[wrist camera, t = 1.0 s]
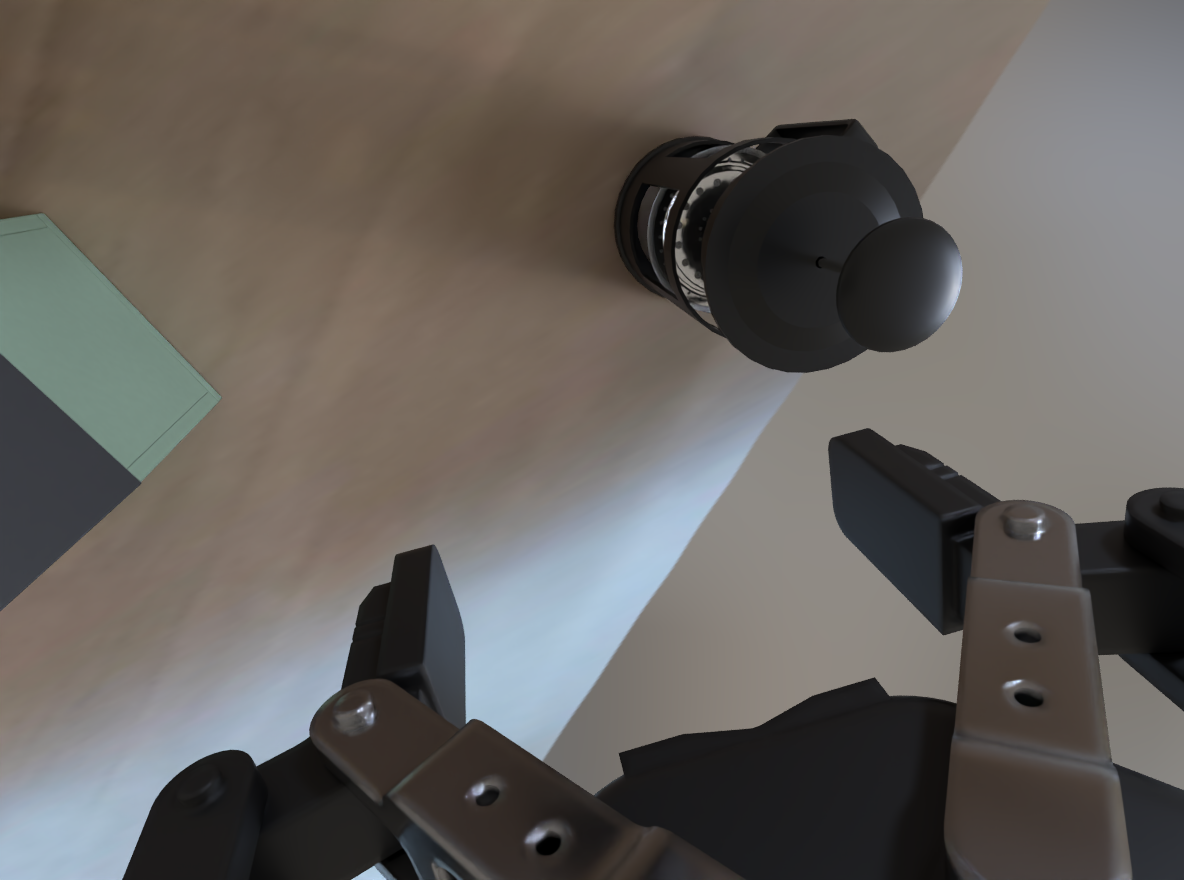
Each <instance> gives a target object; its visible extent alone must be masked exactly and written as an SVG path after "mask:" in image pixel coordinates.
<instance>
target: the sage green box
mask: <svg viewBox="0 0 1184 880" xmlns="http://www.w3.org/2000/svg"><path fill="white" fill-rule="evenodd" d="M0 354H2V355H3V356H4V357H5V358H6V359H7V360H8V361H9V362H10V363H11V364H12V365H14V366H15V367H16V368H17V369H18V370H19V371H20V372H21V373H22V374H23V375H24V376H26V377H27V378H28V379H29V380H30V381H31V382H32V383H33V384H34V385H35V386H36V387H38V388H39V389H40V390H41V391H42V392H43V393H44V394H45V395H46V396H47V397H48V398H50V399H51V400H52V401H53V402H54V403H55V404H56V405H57V406H58V407H59V408H60V409H62V410H63V411H64V412H65V413H66V414H67V415H68V416H69V417H70V418H71V419H72V420H74V421H75V422H76V423H77V424H78V425H79V426H80V427H81V428H82V429H83V430H84V431H86V432H87V433H88V434H89V435H90V436H91V437H92V438H93V439H94V440H95V441H96V442H98V443H99V444H100V445H101V446H102V447H103V448H104V449H105V450H106V451H107V452H108V453H110V454H111V455H112V456H113V457H114V458H115V459H116V460H117V461H118V462H119V463H120V464H122V465H123V466H124V467H125V468H126V469H127V470H128V471H129V472H130V473H131V474H132V475H134V476H135V477H136V478H137V479H138V480H139V481H140V482H142V480H143V479H144V478H145V477H146V476H147V475H148V474H149V473H150V472H151V471H152V470H153V469H154V468H155V467H156V466H157V465H158V464H159V463H160V462H161V461H162V460H163V459H164V458H165V457H166V456H167V455H168V454H169V453H170V452H171V451H172V450H173V448H174V447H175V446H176V445H177V444H178V443H179V442H180V441H181V440H182V439H183V438H184V437H185V436H186V435H187V434H188V433H189V432H190V431H191V430H192V429H193V428H194V427H195V426H196V425H197V424H198V423H199V422H200V421H201V420H202V419H203V418H204V416H205V415H206V414H207V413H208V412H209V411H210V410H211V409H212V408H213V407H214V406H215V405H216V404H217V403H218V402H219V401H220V400H221V398H222V397H221V396H220V395H219V394H218V393H217V392H216V391H215V390H214V389H213V388H212V387H211V386H210V385H209V384H208V383H207V382H206V381H205V380H204V378H203V377H202V376H201V375H200V374H199V373H198V372H197V371H196V370H195V369H194V368H193V367H192V366H191V365H190V364H189V363H188V362H187V361H186V360H185V359H184V358H183V357H182V356H181V355H180V354H179V353H178V352H177V351H176V350H175V349H174V347H173V346H172V345H171V344H170V343H169V342H168V341H167V340H166V339H165V338H164V337H163V336H162V335H161V334H160V333H159V332H158V331H157V330H156V329H155V328H154V327H153V326H152V325H151V324H150V323H149V322H148V321H147V320H146V319H145V318H144V316H143V315H142V314H141V313H140V312H139V311H138V310H137V309H136V308H135V307H134V306H133V305H132V304H131V303H130V302H129V301H128V300H127V299H126V298H125V297H124V296H123V295H122V294H121V293H120V292H119V291H118V290H117V289H116V288H115V286H114V285H113V284H112V283H111V282H110V281H109V280H108V279H107V278H106V277H105V276H104V275H103V274H102V273H101V272H100V271H99V270H98V269H97V268H96V267H95V266H94V265H93V264H92V263H91V262H90V261H89V260H88V259H87V258H86V257H85V255H84V254H83V253H82V252H81V251H80V250H79V249H78V248H77V247H76V246H75V245H74V244H73V243H72V242H71V241H70V240H69V239H68V238H67V237H66V236H65V235H64V234H63V233H62V232H61V231H60V230H59V229H58V228H57V227H56V226H55V224H54V223H53V222H52V221H51V220H50V219H49V218H48V217H47V216H46V215H45V214H43V213H40V214H33V215H26V216H20V217H13V218H7V219H0Z"/></svg>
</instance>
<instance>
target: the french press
mask: <svg viewBox="0 0 1184 880" xmlns="http://www.w3.org/2000/svg"><path fill="white" fill-rule="evenodd" d="M756 144H759V146H758V147H757V148H756V149H753V148H750V146H753V145H756ZM650 185H651V186H656V187H661V188H660V190H659V192H658V195H657V197H656V199H655V201H654V203H653V206H652V210H651V213H650V217H649V221H648V232H647V241H648V251H649V256H650V259H651V262H650V261H649V260H648V259H647V257H646V255H645V254H644V252H643V250H642V248H641V244H640V241H639V238H638V229H637V222H638V212H639V209H640V205H641V201H642V199H643V197H644V195H645V193H646V191H647V189H648V188H649V187H650ZM614 229H615V238H616V243H617V247H618V250H619V253H620V256H621V258H622V260H623V262H624V264H625V265H626V267H627V269H628V271H629V272H630V273H631V274H632V275H633V276H634V278H635V279H636V280H637V281H638V282H639V283H640V284H642V285H643V286H644V287H646V288H647V289H648V290H649V291H651V292H653V293H655V294H657V295H659V296H661V297H664V298H667V299H668V300H670V301H671V302H672V303H674V304H675V305H676V306H678V307H679V308H681V309H682V310H683V311H685V312H686V313H687V314H689V315H690V316H692V317H693V318H694V319H696V320H697V321H698V322H700V323H701V324H703V325H704V326H705V327H707V328H708V329H709V330H711V331H712V332H714V333H716V334H718V335H720V336H723V337H725V338H727V339H728V341H729V342H730V343H731V344H732V345H733V346H734V347H735V348H736V349H738V350H739V351H740V352H741V353H743V354H744V355H745V356H747V357H748V358H749V359H751V360H753V361H755V362H757V363H759V364H761V365H763V366H765V367H768V368H771V369H776V370H780V371H784V372H803V373H807V372H814V371H819V370H824V369H829V368H832V367H834V366H836V365H839V364H842V363H845V362H847V361H849V360H851V359H852V358H854V357H856V356H857V355H859V354H861V353H862V352H864V351H866V350H867V349H869V350H874V351H878V352H895V351H901V350H905V349H908V348H910V347H913V346H916V345H917V344H919V343H921V342H922V341H924V340H926V339H927V338H928V337H930V336H931V335H932V334H933V333H934V332H936V331H937V330H938V329H939V327H940V326H941V325H942V324H943V323H944V322H945V320H946V319H947V318H948V316H949V314H950V313H951V311H952V309H953V308H954V305H955V303H956V301H957V298H958V296H959V292H960V288H961V284H962V262H961V256H960V253H959V250H958V247H957V245H956V243H955V242H954V240H953V238H952V237H951V235H950V234H948V233H947V231H945V229H944V228H943V227H941V226H940V225H938V224H936V223H935V222H933V221H931V220H927V219H924V218H923V213H922V208H921V205H920V202H919V199H918V196H917V193H916V191H915V188H914V186H913V185H912V183H911V182H910V180H909V178H908V177H907V175H906V173H905V172H904V170H903V169H902V168H901V167H900V166H899V165H898V164H897V163H896V162H895V161H894V160H893V159H892V158H891V157H890V156H889V155H888V154H886V153H885V152H883V151H882V150H880V149H878V146H877V145H876V143H875V142H874V141H873V139H872V138H871V137H870V136H869V134H868V133H867V132H866V130H865V129H864V128H863V127H862V125H861V124H860V123H859V122H858V121H857V120H856V119H847V120H835V121H822V122H810V123H797V124H784V125H778V126H776V127H775V128H774V129H773V130H772V131H771V132H770V133H769V134H768V136H767V137H766V138H757V139H750V140H744V141H741V142H738V143H736V144H734V143H731V142H727V141H720V140H717V139H713V138H710V137H698V136H691V137H685V138H678V139H675V140H672V141H670V142H667V143H664V144H662V145H660V146H659V147H657V148H655V149H654V150H652V151H651V152H649V153H648V154H647V155H646V156H645V157H644V158H643V159H642V160H640V161H639V162H638V163H637V164H636V166H635V167H634V168H633V170H632V171H631V173H630V174H629V175H628V177H627V178H626V180H625V183H624V185H623V187H622V189H621V191H620V193H619V197H618V201H617V205H616V209H615V220H614ZM651 263H652V264H651ZM694 309H695V310H699V311H703V312H708V313H711V314H712V316H713V318H714V320H715V322H716V324H717V326H718V328H717V327H715V326H713V325H711V324H709V323H707V322H706V321H705V320H703V319H702V318H701V317H700V316H699V315H698V313H697V312H696V311H695V310H694Z"/></svg>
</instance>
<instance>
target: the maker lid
mask: <svg viewBox="0 0 1184 880" xmlns="http://www.w3.org/2000/svg"><path fill="white" fill-rule="evenodd" d="M140 484H141V482H140V481H139V480H138V479H137V478H136V477H135V476H134V475H132V474H131V473H130V472H129V471H128V470H127V469H126V468H125V467H124V466H123V465H122V464H120V463H119V462H118V461H117V460H116V459H115V458H114V457H113V456H112V455H111V454H110V453H108V452H107V451H106V450H105V449H104V448H103V447H102V446H101V445H100V444H99V443H98V442H96V441H95V440H94V439H93V438H92V437H91V436H90V435H89V434H88V433H87V432H86V431H84V430H83V429H82V428H81V427H80V426H79V425H78V424H77V423H76V422H75V421H74V420H72V419H71V418H70V417H69V416H68V415H67V414H66V413H65V412H64V411H63V410H62V409H60V408H59V407H58V406H57V405H56V404H55V403H54V402H53V401H52V400H51V399H50V398H48V397H47V396H46V395H45V394H44V393H43V392H42V391H41V390H40V389H39V388H38V387H36V386H35V385H34V384H33V383H32V382H31V381H30V380H29V379H28V378H27V377H26V376H24V375H23V374H22V373H21V372H20V371H19V370H18V369H17V368H16V367H15V366H14V365H12V364H11V363H10V362H9V361H8V360H7V359H6V358H5V357H4V356H3V355H2V354H0V611H1V610H2V609H3V608H5V607H6V606H7V605H8V604H9V603H10V602H11V601H12V600H13V599H14V598H16V597H17V596H18V595H19V594H20V593H21V592H22V591H23V590H24V589H26V588H27V587H28V586H29V585H30V584H31V583H32V582H33V581H34V580H35V579H37V578H38V577H39V576H40V575H41V574H42V573H43V572H44V571H45V570H47V569H48V568H49V567H50V566H51V565H52V564H53V563H54V562H55V561H56V560H58V559H59V558H60V557H61V556H62V555H63V554H64V553H65V552H66V551H68V550H69V549H70V548H71V547H72V546H73V545H74V544H75V543H76V542H77V541H79V540H80V539H81V538H82V537H83V536H84V535H85V534H86V533H87V532H89V531H90V530H91V529H92V528H93V527H94V526H95V525H96V524H97V523H98V522H100V521H101V520H102V519H103V518H104V517H105V516H106V515H107V514H108V513H110V512H111V511H112V510H113V509H114V508H115V507H116V506H117V505H118V504H119V503H121V502H122V501H123V500H124V499H125V498H126V497H127V496H128V495H129V494H131V493H132V492H133V491H134V490H135V489H136V488H137V487H138V486H139V485H140Z"/></svg>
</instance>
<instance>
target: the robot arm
mask: <svg viewBox="0 0 1184 880" xmlns="http://www.w3.org/2000/svg"><path fill="white" fill-rule="evenodd" d="M828 451H829V464H830V476H831V488H832V499H833V508H834V513H835V517H836V520H837V522H838V525H839V527H840V528H841V530H842V532H843V533H844V535H845V536H846V537H847V538H848V539H849V540H850V541H851V542H852V543H853V544H854V545H855V546H856V547H857V548H858V549H859V550H860V551H861V552H862V553H863V554H864V555H865V556H866V557H867V558H868V559H869V560H870V562H872V564H874V566H875V567H876V568H878V570H879V571H880V572H881V573H882V574H883V575H884V576H885V577H886V578H887V579H888V580H889V581H890V582H891V583H892V584H893V585H894V586H895V587H896V588H897V589H898V590H899V591H900V592H901V593H902V594H903V595H904V596H905V597H906V598H907V599H908V600H909V601H910V602H911V603H912V604H913V605H914V606H915V607H916V608H917V609H918V610H919V611H920V612H921V613H922V614H923V615H924V616H925V617H926V618H927V619H928V620H929V621H930V622H931V624H932V625H933V626H934V627H935V628H936V629H938V631H939V632H940V633H941V634H942V635H947V634H950V633H953V632H957V631H960V630H963V639H962V649H961V662H960V674H959V684H958V695H957V703H953V702H949V701H945V700H940V699H935V698H928V697H919V696H889V695H888V694H887V693H886V691H885V690H884V689H883V687H882V686H881V685H880V684H879V682H878V681H877V680H876V678H871V679H868V680H865V681H861V682H858V683H855V684H851V685H847V686H844V687H841V688H838V689H834V690H831V691H828V692H824V693H821V694H817V695H814V696H812V697H810V698H808V699H806V700H805V701H803V702H801V703H799V704H797V705H796V706H794V707H792V708H790V709H789V710H787V711H785V712H783V713H782V714H780V715H778V716H776V717H774V718H773V719H771V720H769V721H767V722H766V723H764V724H762V725H760V726H758V727H755V728H751V729H742V730H729V731H718V732H706V733H705V732H704V733H693V734H682V735H679V736H675V737H672V738H668V739H665V740H662V741H659V742H655V743H652V744H648V745H645V746H641V747H638V748H635V749H631V750H628V751H625V752H621V753H619V756H620V760H621V763H622V768H623V772H624V775H622V776H621V777H619V778H617V779H615V780H614V781H612V782H611V783H609V784H608V785H607V786H605V787H604V788H602V789H601V790H600V791H598V792H597V793H596V794H595V795H594V796H593V795H592V794H590V793H589V792H587V791H586V790H584V789H583V788H581V787H580V786H578V785H577V784H575V783H574V782H572V781H571V780H569V779H568V778H566V777H565V776H563V775H562V774H560V773H559V772H557V771H556V770H554V769H553V768H551V767H550V766H548V765H547V764H545V763H544V762H542V761H541V760H539V759H538V758H536V757H535V756H533V755H532V754H530V753H529V752H527V751H526V750H524V749H523V748H521V747H520V746H518V745H517V744H515V743H514V742H512V741H511V740H509V739H508V738H506V737H505V736H503V735H502V734H500V733H499V732H497V731H496V730H494V729H493V728H491V727H490V726H488V725H487V724H485V723H484V722H482V721H480V720H477V719H472V720H470V721H469V722H468V723H467V724H466V711H465V636H464V629H463V624H462V620H461V616H460V612H459V609H458V606H457V603H456V600H455V597H454V595H453V592H452V589H451V586H450V583H449V580H448V577H447V575H446V572H445V569H444V566H443V563H442V560H441V557H440V555H439V552H438V550H437V548H436V546H435V545H429V546H425V547H422V548H418V549H414V550H411V551H407V552H403V553H400V554H396V556H395V560H394V566H393V572H392V578H391V582H389V583H386V584H382V585H378V586H375V587H373V589H372V590H371V591H370V593H369V594H368V595H367V597H366V598H365V599H364V601H363V602H362V603H361V605H360V606H359V611H358V615H357V620H356V627H355V629H354V634H353V638H352V640H353V643H351V647H350V652H349V656H348V661H347V665H346V670H345V674H344V679H343V683H342V688H341V690H340V691H339V692H337V693H336V694H334V695H333V696H332V697H330V698H329V699H328V700H327V701H326V702H325V703H324V704H323V705H322V706H321V707H320V708H319V709H318V711H317V712H316V714H315V715H314V717H313V719H312V721H311V724H310V729H309V731H310V737H309V738H307V739H306V740H304V741H303V742H301V743H300V744H298V745H296V746H295V747H293V748H291V749H289V750H287V751H285V752H283V753H281V754H279V755H278V756H276V757H274V758H272V759H270V760H268V761H266V762H264V763H262V764H260V765H258V766H257V767H256V765H255V763H254V761H253V760H252V758H251V757H250V756H249V755H248V754H247V753H245V752H243V751H239V750H227V751H221V752H217V753H214V754H211V755H209V756H206V757H204V758H202V759H200V760H198V761H196V762H195V763H193V764H191V765H190V766H188V767H187V768H185V769H184V770H183V771H181V772H180V773H179V774H178V775H176V776H175V777H174V778H173V779H172V780H171V781H170V782H169V783H168V784H167V785H166V786H165V787H164V788H163V790H162V791H161V792H160V793H159V795H158V796H157V798H156V799H155V801H154V803H153V805H152V807H151V810H150V812H149V815H148V817H147V820H146V822H145V825H144V827H143V830H142V832H141V835H140V837H139V840H138V842H137V845H136V847H135V850H134V852H133V855H132V857H131V860H130V862H129V865H128V867H127V869H126V872H125V874H124V877H123V879H122V880H351V879H353V878H355V877H356V876H358V875H359V874H361V873H363V872H364V871H366V870H368V869H369V868H371V867H373V866H375V867H376V869H377V870H378V871H379V872H380V873H381V874H382V875H383V876H384V877H385V878H386V879H387V880H1184V790H1182V789H1179V788H1176V787H1174V786H1171V785H1169V784H1166V783H1164V782H1161V781H1159V780H1156V779H1153V778H1151V777H1148V776H1146V775H1143V774H1140V773H1138V772H1135V771H1132V770H1130V769H1127V768H1125V767H1122V766H1120V765H1117V764H1115V763H1113V762H1112V758H1111V751H1110V744H1109V735H1108V727H1107V720H1106V712H1105V704H1104V697H1103V688H1102V681H1101V673H1100V665H1099V657H1098V655H1114V654H1118V655H1119V656H1120V657H1121V658H1122V659H1123V660H1124V661H1126V662H1127V663H1128V664H1129V665H1130V666H1131V667H1132V668H1134V669H1135V670H1136V671H1137V672H1138V673H1140V674H1141V675H1142V676H1143V677H1144V678H1145V679H1147V680H1148V681H1149V682H1150V683H1151V684H1152V685H1153V686H1155V687H1156V688H1157V689H1158V690H1159V691H1160V692H1162V693H1163V694H1164V695H1165V696H1166V697H1168V698H1169V699H1170V700H1171V701H1172V702H1173V703H1175V704H1176V705H1177V706H1178V707H1179V708H1180V709H1182V710H1183V711H1184V489H1183V488H1154V489H1149V490H1144V491H1141V492H1138V493H1136V494H1134V495H1133V496H1131V497H1130V498H1129V500H1128V501H1127V505H1126V514H1125V520H1123V521H1110V522H1097V523H1083V524H1075V523H1074V521H1073V519H1072V518H1071V517H1070V516H1069V515H1068V514H1067V513H1065V512H1064V511H1062V510H1060V509H1058V508H1056V507H1054V506H1051V505H1048V504H1045V503H1041V502H1035V501H1028V500H1008V501H1000V500H998V499H997V498H996V497H994V496H993V495H991V494H990V493H988V492H986V491H985V490H983V489H982V488H980V487H979V486H977V485H976V484H974V483H973V482H971V481H970V480H968V479H967V478H965V477H963V476H962V475H960V476H959V475H958V472H956V471H955V470H953V469H952V468H950V467H948V466H944V464H943V463H942V462H941V461H939V460H938V459H936V458H935V457H933V456H932V455H930V454H928V453H927V452H925V451H922V450H919V449H915V448H912V447H909V446H905V445H902V444H900V445H896V446H895V445H893V444H892V443H890V442H889V441H887V440H886V439H885V438H883V437H882V436H880V435H879V434H877V433H876V432H874V431H873V430H871V429H869V428H867V429H863V430H859V431H856V432H852V433H848V434H844V435H841V436H837V437H833V438H831V440H830V442H829V447H828Z"/></svg>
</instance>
